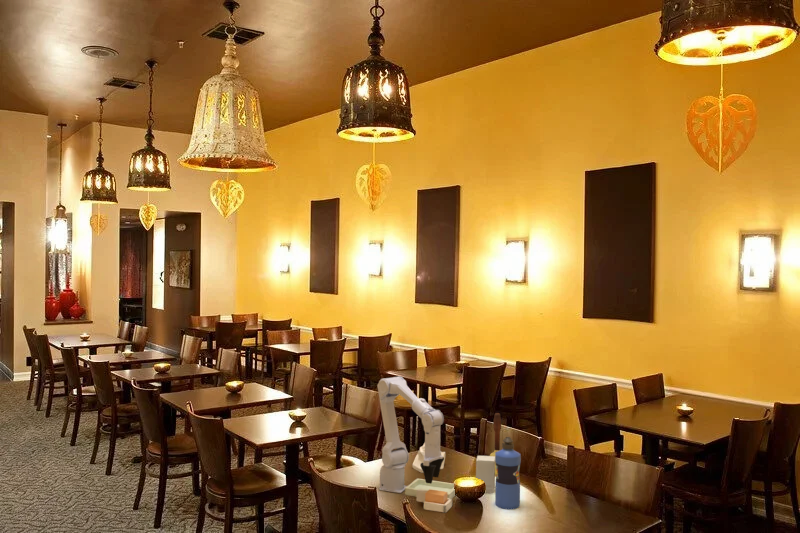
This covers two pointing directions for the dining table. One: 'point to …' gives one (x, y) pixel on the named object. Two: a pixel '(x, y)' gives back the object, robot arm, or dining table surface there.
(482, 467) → the supplement box
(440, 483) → the tray
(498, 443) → the handbell
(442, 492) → the orange and grey block
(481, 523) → the dining table surface
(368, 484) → the dining table surface
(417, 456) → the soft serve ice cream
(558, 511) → the dining table surface
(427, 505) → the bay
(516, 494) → the water bottle
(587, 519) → the dining table surface
